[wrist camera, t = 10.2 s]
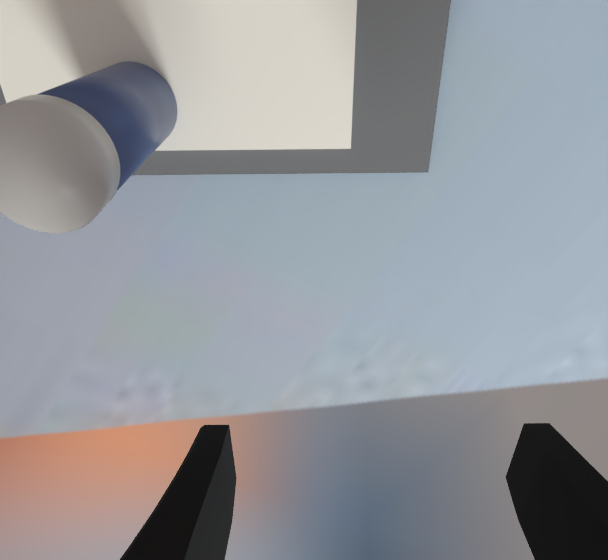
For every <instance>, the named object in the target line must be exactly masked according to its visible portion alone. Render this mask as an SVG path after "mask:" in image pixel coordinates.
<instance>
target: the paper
mask: <svg viewBox="0 0 608 560" xmlns="http://www.w3.org/2000/svg"><path fill="white" fill-rule="evenodd" d="M356 14H357V0H0V85H1V88H2V91H3V94H4V97H5V100H6V103H8V102H11V101H13V100H16V99H19V98H21V97H24V96H29V95H36V94H39V93H42V92H44V91H47V90H49V89H52V88H55V87H57V86H60V85H62V84H65V83H67V82H70V81H73V80H75V79H78V78H80V77H83V76H86V75H88V74H91V73H93V72H96V71H99V70H101V69H104V68H106V67H109V66H112V65H114V64H117V63H120V62H128V61H130V62H137V63H141V64H144V65H147V66H148V67H150V68H152V69H154V70H155V71H157V72H158V73H159V74H160V75H161V76H162V77H163V78H164V79H165V80H166V81H167V83H168V84H169V86H170V87H171V89H172V91H173V93H174V96H175V99H176V103H177V120H176V124H175V127H174V129H173V131H172V132H171V134H170V135H169V136H168V137H167V138H166V139H165V140H164V141H163V142H162V143H161V145H160V146H159V147H158V148H157V149H156V150H155V151H177V150H281V149H351V133H352V109H353V86H354V62H355V38H356Z"/></svg>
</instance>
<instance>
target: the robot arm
mask: <svg viewBox="0 0 608 560" xmlns="http://www.w3.org/2000/svg"><path fill="white" fill-rule="evenodd" d="M506 480H507V483H508V487H509V490H510V494H511V497H512V501H513V504H514V507H515V510H516V513H517V517H518V520H519V523H520V525H521V527H522V530H523V532H524V535H525V537H526V539H527V542H528V544H529V547H530V549H531V551H532V554H533V556H534V558H535V560H608V481H607V480H605V479H604V478H603V476H602V475H601V474H599V473H598V472H597V470H596V469H594V468H593V467H592V466H591V465H590V464H589V463H588V462H587V461H586V460H585V459H584V458H583V457H582V456H581V455H580V454H579V453H578V452H577V451H576V450H575V449H574V448H573V447H572V446H571V445H570V444H569V443H568V442H567V441H566V440H565V438H563V436H561V435H560V434H559V433H558V432H557V431H556V430H555V429H554V428H553V427H552V426H551V425H550V424H549V423H548V424H547V423H542V424H541V423H538V424H537V423H536V424H535V423H534V424H524V425H523V428H522V431H521V434H520V437H519V440H518V443H517V446H516V449H515V452H514V454H513V458H512V460H511V463H510V466H509V469H508V472H507V475H506ZM235 486H236V473H235V465H234V458H233V451H232V443H231V436H230V429H229V425H204V426H203V427H201V428H200V430H199V432H198V434H197V436H196V438H195V440H194V443H193V444H192V446H191V448H190V450H189V452H188V454H187V456H186V458H185V459H184V461H183V463H182V465H181V466H180V468H179V470H178V472H177V473H176V475H175V477H174V479H173V480H172V482H171V484H170V485H169V487H168V488H167V490H166V492H165V493H164V495H163V496H162V498H161V500H160V501H159V503H158V505H157V506H156V508H155V509H154V511H153V512H152V514H151V515H150V517H149V518H148V520H147V521H146V523H145V525H144V526H143V527H142V529H141V530H140V532H139V533H138V534H137V536H136V537H135V539H134V540H133V542H132V543H131V545H130V546H129V548H128V549H127V550H126V552H125V553H124V555H123V556H122V557H121V559H120V560H224V559H225V554H226V549H227V544H228V538H229V534H230V529H231V524H232V516H233V507H234V497H235Z"/></svg>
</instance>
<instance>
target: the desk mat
mask: <svg viewBox="0 0 608 560" xmlns="http://www.w3.org/2000/svg"><path fill="white" fill-rule="evenodd" d="M450 3H451V0H357V14H356V38H355V62H354V86H353V109H352V133H351V149H281V150H177V151H154V152H153V153H152V154H151V155H150V156H149V157H148V158H147V159H146V160H145V161H144V163H143V164H142V165H141V166H140V167H139V168H138V169H137V170H136V171H135V172H134V173H133V174H132V175H188V174H297V173H406V172H428V169H429V162H430V154H431V147H432V139H433V132H434V124H435V116H436V109H437V101H438V94H439V86H440V79H441V71H442V63H443V56H444V48H445V41H446V33H447V26H448V18H449V10H450ZM3 104H6V100H5V97H4V94H3V91H2V88H1V85H0V105H3Z"/></svg>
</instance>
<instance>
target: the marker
mask: <svg viewBox="0 0 608 560" xmlns="http://www.w3.org/2000/svg"><path fill="white" fill-rule="evenodd" d="M176 120H177V103H176V99H175V96H174V93H173V91H172V89H171V87H170V86H169V84H168V83H167V81H166V80H165V79H164V78H163V77H162V76H161V75H160V74H159V73H158V72H157V71H155V70H154V69H152V68H150V67H148V66H147V65H144V64H141V63H137V62H130V61H128V62H120V63H117V64H114V65H112V66H109V67H106V68H104V69H101V70H99V71H96V72H93V73H91V74H88V75H86V76H83V77H80V78H78V79H75V80H73V81H70V82H67V83H65V84H62V85H60V86H57V87H55V88H52V89H49V90H47V91H44V92H42V93H39V94H36V95H29V96H24V97H21V98H19V99H16V100H13V101H11V102H8V103H6V104H3V105H0V212H1V213H2V214H3V215H5V216H6V217H8V218H9V219H11V220H12V221H14V222H16V223H18V224H20V225H22V226H24V227H27V228H29V229H33V230H36V231H40V232H45V233H66V232H71V231H75V230H78V229H80V228H82V227H84V226H85V225H87V224H88V223H90V222H91V221H92V220H93V219H94V218H95V217H96V216H97V215H98V213H99V212H100V211H101V210H102V209H103V208H104V207H105V206H106V205H107V204H108V203H109V202H110V201H111V199H112V198H113V196H114V195H115V193H116V191H117V190H118V189H119V188H120V187H121V186H122V185H123V184H124V183H125V182H126V180H127V179H128V178H129V177H130V176H131V175H132V174H133V173H134V172H135V171H136V170H137V169H138V168H139V167H140V166H141V165H142V164H143V163H144V161H145V160H146V159H147V158H148V157H149V156H150V155H151V154H152V153H153V152H154V151H155V150H156V149H157V148H158V147H159V146H160V145H161V143H162V142H163V141H164V140H165V139H166V138H167V137H168V136H169V135H170V134H171V132H172V131H173V129H174V127H175V124H176Z"/></svg>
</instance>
